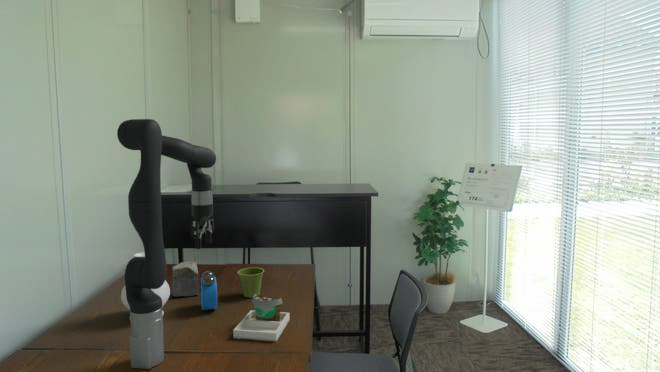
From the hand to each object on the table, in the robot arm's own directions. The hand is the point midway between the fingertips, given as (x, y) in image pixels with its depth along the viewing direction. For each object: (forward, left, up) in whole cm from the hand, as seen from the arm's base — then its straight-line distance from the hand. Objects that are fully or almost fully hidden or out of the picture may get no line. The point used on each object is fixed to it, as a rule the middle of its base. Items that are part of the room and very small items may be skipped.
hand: (203, 245), depth 162 cm
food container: (+2, -23, -30) cm, 37 cm away
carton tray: (-1, -23, -30) cm, 38 cm away
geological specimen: (+27, +22, -30) cm, 46 cm away
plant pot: (+32, -7, -30) cm, 45 cm away
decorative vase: (+3, +26, -30) cm, 40 cm away
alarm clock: (+14, +5, -30) cm, 34 cm away
